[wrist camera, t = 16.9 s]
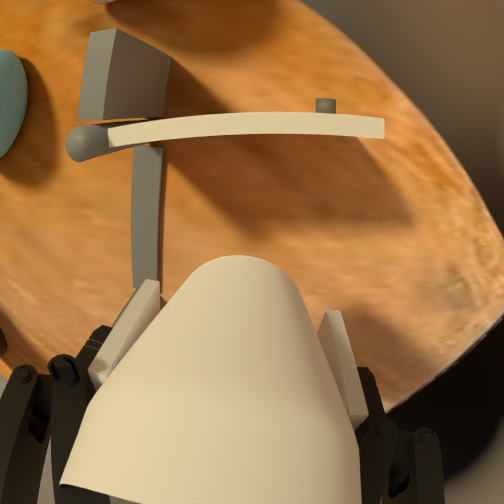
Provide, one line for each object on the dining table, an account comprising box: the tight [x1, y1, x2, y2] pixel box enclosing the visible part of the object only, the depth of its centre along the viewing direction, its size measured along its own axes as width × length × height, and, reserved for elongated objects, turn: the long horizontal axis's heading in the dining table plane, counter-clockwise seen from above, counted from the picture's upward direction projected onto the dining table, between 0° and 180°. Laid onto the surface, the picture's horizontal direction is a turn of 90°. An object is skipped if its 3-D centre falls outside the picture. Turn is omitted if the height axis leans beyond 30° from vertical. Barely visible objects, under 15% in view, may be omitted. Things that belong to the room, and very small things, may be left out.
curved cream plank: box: [108, 98, 384, 148], centre depth 19 cm, size 16×2×10 cm, turn 92°
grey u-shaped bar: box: [66, 28, 172, 328], centre depth 23 cm, size 3×28×12 cm, turn 171°
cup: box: [59, 255, 362, 504], centre depth 11 cm, size 9×9×12 cm
